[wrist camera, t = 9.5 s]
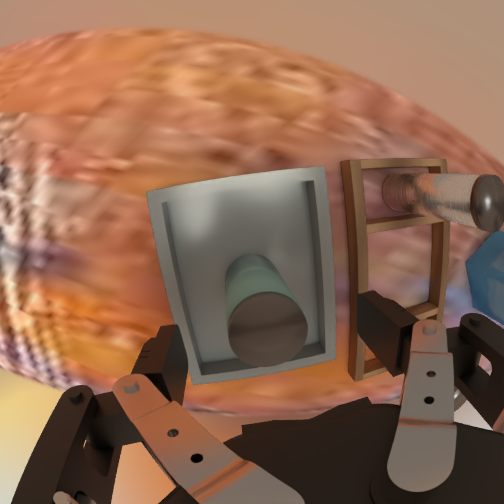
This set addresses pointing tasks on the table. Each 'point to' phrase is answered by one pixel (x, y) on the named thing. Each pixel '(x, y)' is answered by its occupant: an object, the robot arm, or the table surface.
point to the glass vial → (448, 197)
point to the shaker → (262, 313)
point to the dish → (239, 244)
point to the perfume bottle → (488, 277)
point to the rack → (359, 251)
